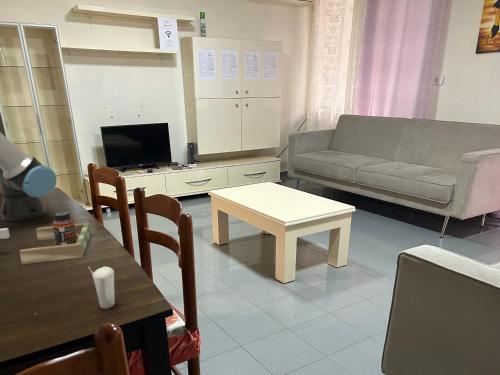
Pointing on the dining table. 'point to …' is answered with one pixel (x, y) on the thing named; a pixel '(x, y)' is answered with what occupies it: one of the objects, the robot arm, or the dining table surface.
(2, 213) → the robot arm
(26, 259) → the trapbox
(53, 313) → the dining table surface
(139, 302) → the dining table surface
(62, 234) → the supplement bottle
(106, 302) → the milkshake
